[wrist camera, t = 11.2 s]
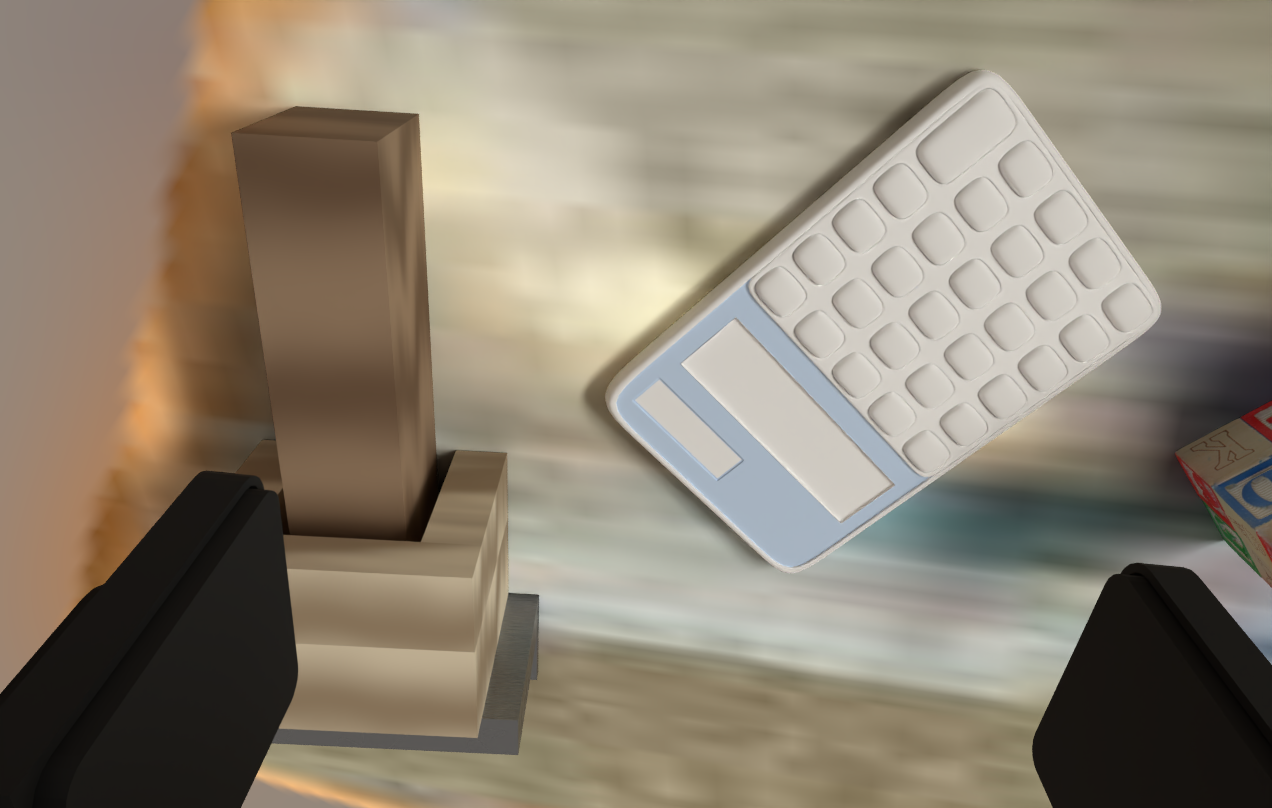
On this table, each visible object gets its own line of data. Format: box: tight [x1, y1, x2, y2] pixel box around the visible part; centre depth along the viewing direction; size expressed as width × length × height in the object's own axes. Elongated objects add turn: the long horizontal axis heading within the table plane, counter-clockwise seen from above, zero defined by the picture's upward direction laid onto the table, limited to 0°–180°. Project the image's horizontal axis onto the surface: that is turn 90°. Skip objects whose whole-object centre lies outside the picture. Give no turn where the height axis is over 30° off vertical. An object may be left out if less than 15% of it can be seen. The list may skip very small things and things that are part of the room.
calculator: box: [605, 70, 1161, 573], centre depth 37 cm, size 13×20×2 cm, turn 133°
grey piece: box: [272, 593, 539, 755], centre depth 40 cm, size 5×14×8 cm, turn 87°
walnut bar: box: [231, 106, 438, 542], centre depth 34 cm, size 18×5×6 cm, turn 177°
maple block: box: [235, 440, 508, 738], centre depth 37 cm, size 8×11×9 cm
